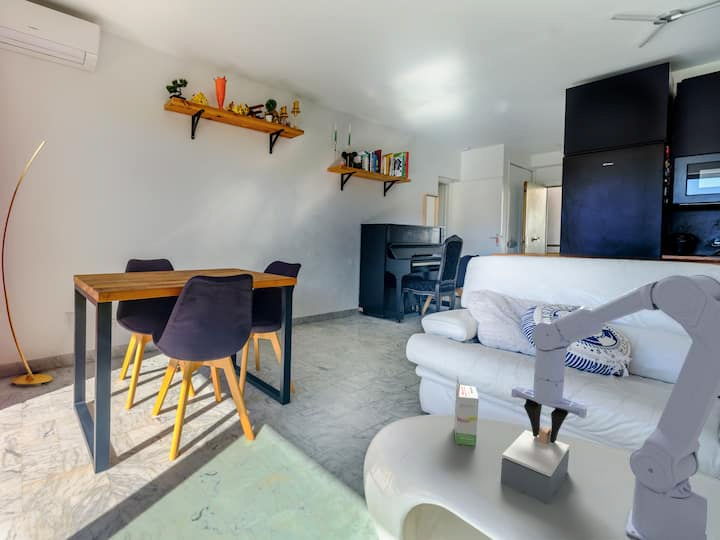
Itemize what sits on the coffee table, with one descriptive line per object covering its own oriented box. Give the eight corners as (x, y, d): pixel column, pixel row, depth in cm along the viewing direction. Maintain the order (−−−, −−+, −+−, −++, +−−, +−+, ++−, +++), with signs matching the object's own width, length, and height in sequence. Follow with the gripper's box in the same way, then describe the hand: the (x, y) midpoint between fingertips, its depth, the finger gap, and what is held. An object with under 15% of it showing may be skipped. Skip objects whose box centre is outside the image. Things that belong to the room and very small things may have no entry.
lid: (569, 447, 78) (570, 433, 78) (550, 477, 68) (551, 461, 68) (525, 432, 84) (526, 419, 84) (502, 456, 74) (503, 442, 74)
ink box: (476, 447, 87) (480, 386, 86) (455, 444, 88) (458, 384, 87) (473, 429, 95) (476, 374, 94) (453, 427, 96) (456, 372, 95)
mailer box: (567, 471, 78) (569, 449, 78) (548, 504, 68) (550, 478, 68) (523, 454, 84) (525, 433, 84) (500, 482, 74) (502, 458, 74)
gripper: (591, 381, 77) (586, 444, 78) (520, 364, 87) (516, 420, 88) (584, 390, 72) (579, 457, 73) (509, 371, 81) (505, 430, 82)
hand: (544, 438), depth 80 cm, fingers open, 3 cm apart
